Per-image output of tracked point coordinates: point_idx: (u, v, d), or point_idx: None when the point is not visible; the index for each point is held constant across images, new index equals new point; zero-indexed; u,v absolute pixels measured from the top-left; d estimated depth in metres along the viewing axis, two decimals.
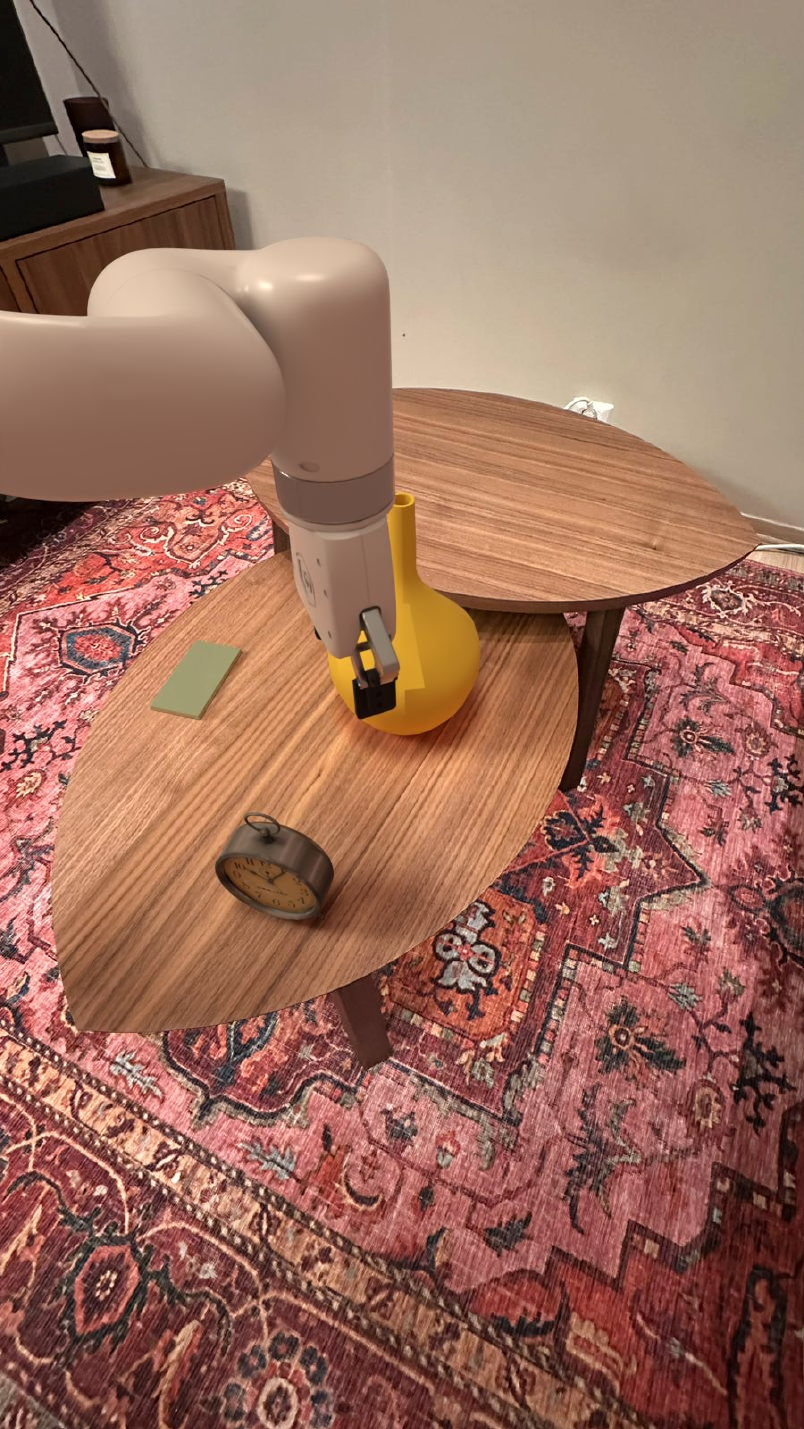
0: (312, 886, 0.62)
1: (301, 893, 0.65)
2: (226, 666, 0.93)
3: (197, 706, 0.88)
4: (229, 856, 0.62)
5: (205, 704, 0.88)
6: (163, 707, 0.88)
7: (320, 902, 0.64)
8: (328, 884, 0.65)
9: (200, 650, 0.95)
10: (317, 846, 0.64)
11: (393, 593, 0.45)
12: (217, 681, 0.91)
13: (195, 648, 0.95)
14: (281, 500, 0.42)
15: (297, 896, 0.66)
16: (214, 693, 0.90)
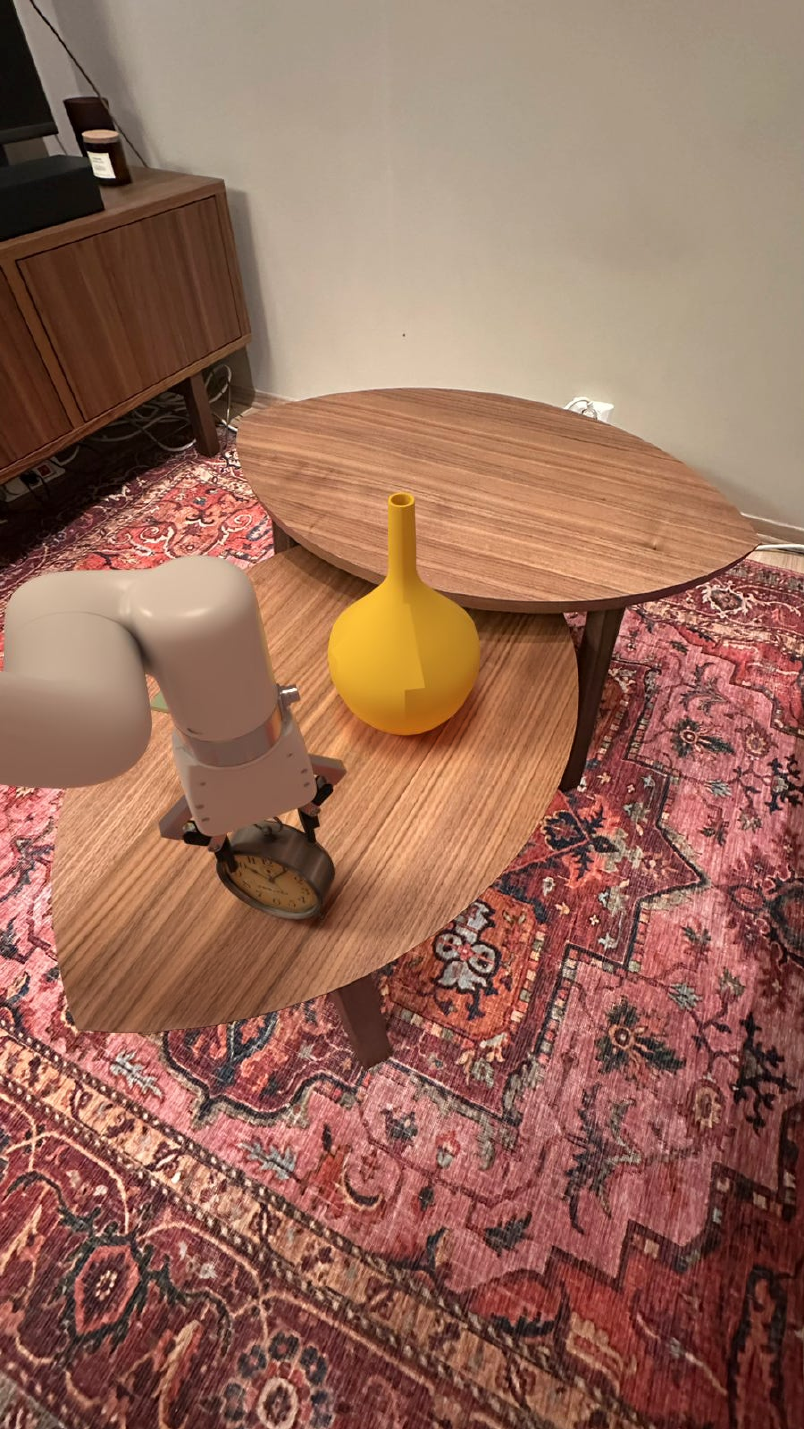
0: (314, 885, 0.62)
1: (302, 892, 0.65)
2: None
3: None
4: None
5: None
6: (163, 707, 0.88)
7: (321, 901, 0.64)
8: (329, 883, 0.65)
9: None
10: (319, 845, 0.64)
11: (191, 807, 0.52)
12: None
13: None
14: None
15: (298, 896, 0.66)
16: None
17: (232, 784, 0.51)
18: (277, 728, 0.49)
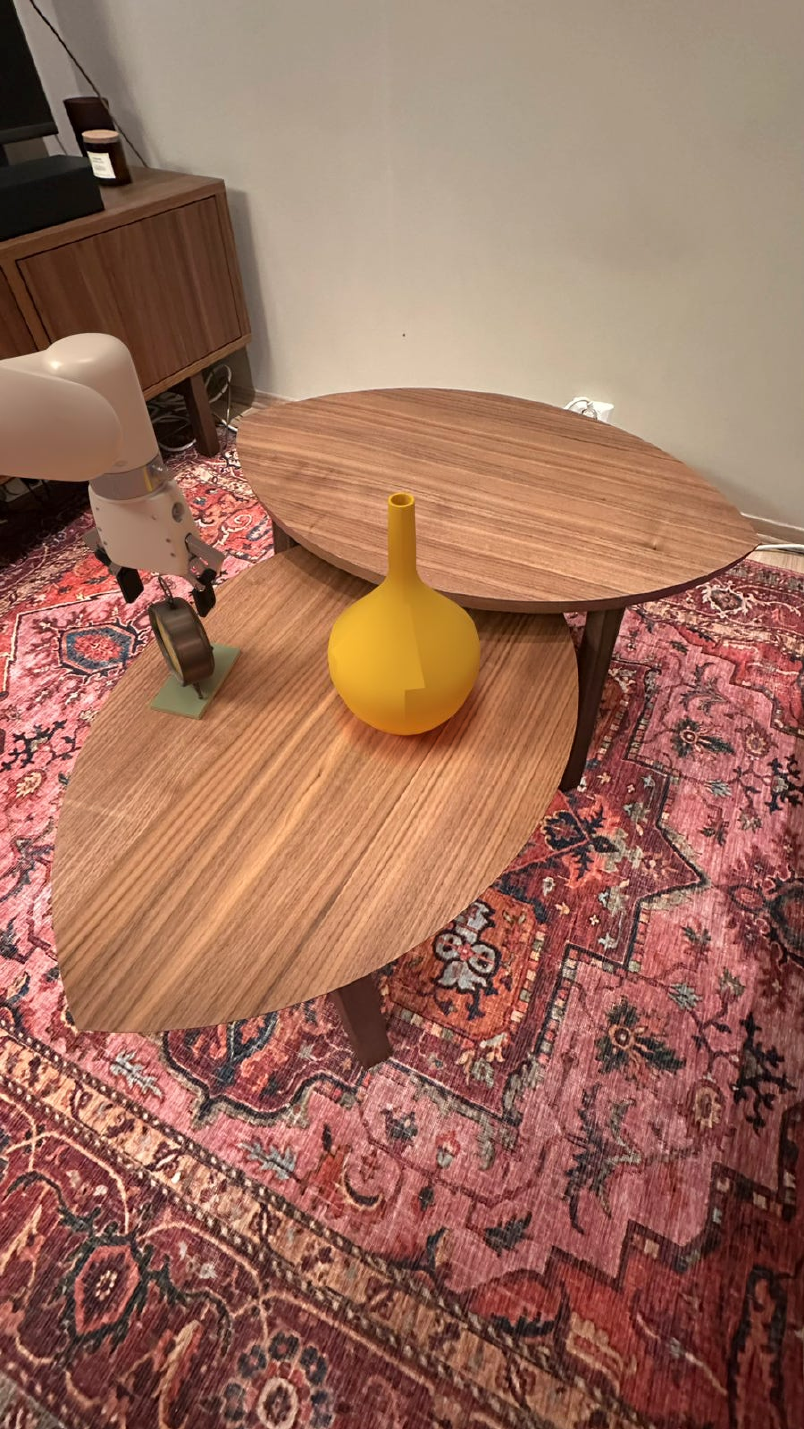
0: (177, 653, 0.82)
1: None
2: (226, 666, 0.93)
3: (197, 706, 0.88)
4: (149, 607, 0.85)
5: (205, 704, 0.88)
6: (163, 707, 0.88)
7: (182, 670, 0.83)
8: (198, 665, 0.84)
9: None
10: (201, 632, 0.83)
11: (97, 528, 0.74)
12: (217, 681, 0.91)
13: None
14: None
15: None
16: (214, 693, 0.90)
17: (115, 520, 0.71)
18: (138, 487, 0.67)
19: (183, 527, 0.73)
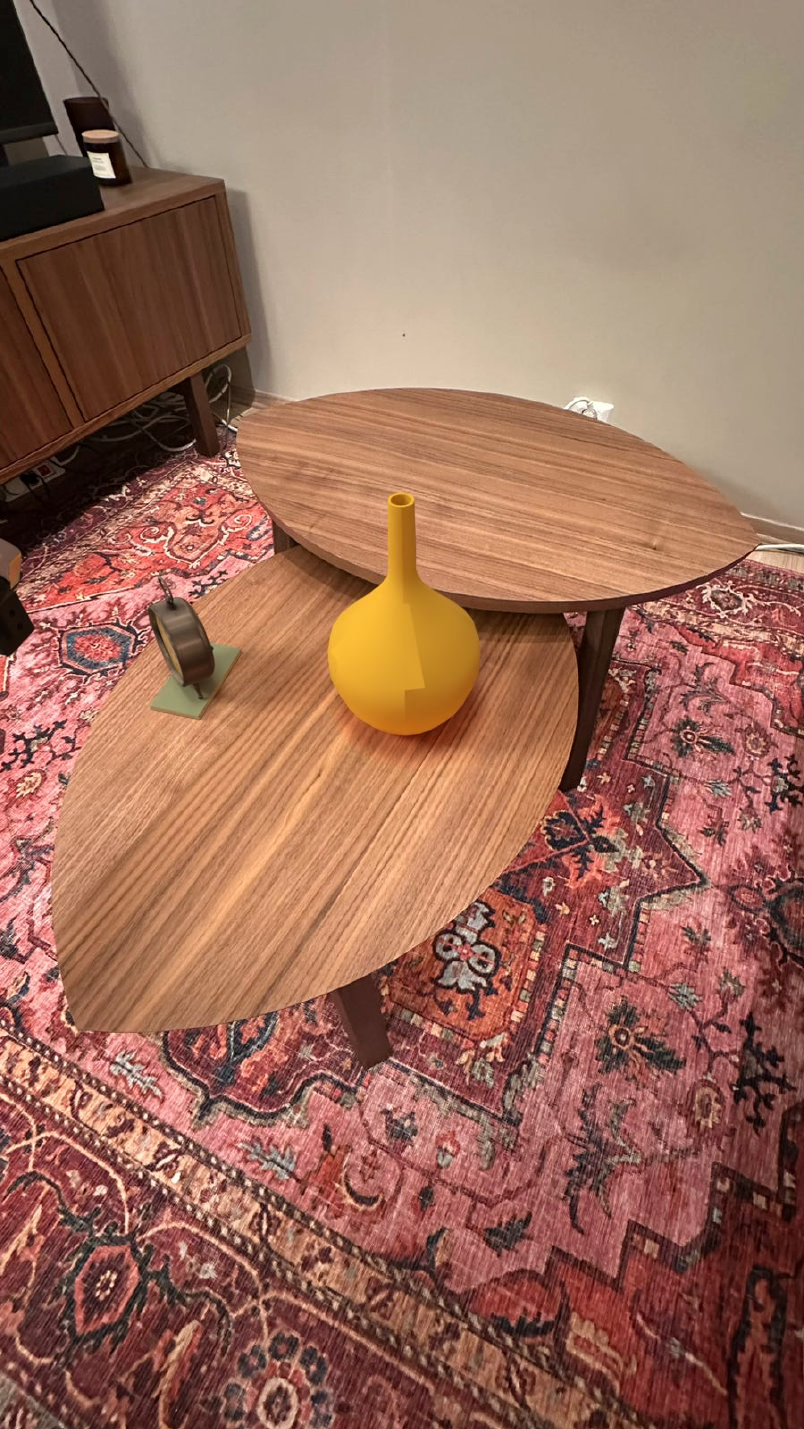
0: (177, 653, 0.82)
1: None
2: (226, 666, 0.93)
3: (197, 706, 0.88)
4: (149, 607, 0.85)
5: (205, 704, 0.88)
6: (163, 707, 0.88)
7: (182, 670, 0.83)
8: (198, 665, 0.84)
9: None
10: (201, 632, 0.83)
11: None
12: (217, 681, 0.91)
13: None
14: None
15: None
16: (214, 693, 0.90)
17: None
18: None
19: None
